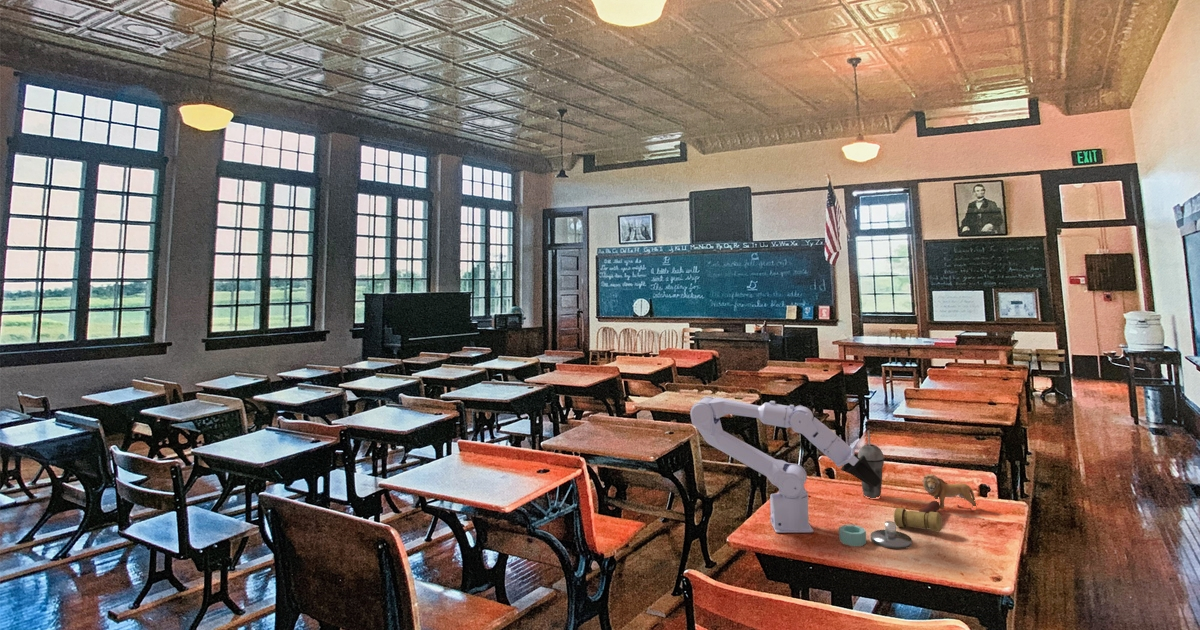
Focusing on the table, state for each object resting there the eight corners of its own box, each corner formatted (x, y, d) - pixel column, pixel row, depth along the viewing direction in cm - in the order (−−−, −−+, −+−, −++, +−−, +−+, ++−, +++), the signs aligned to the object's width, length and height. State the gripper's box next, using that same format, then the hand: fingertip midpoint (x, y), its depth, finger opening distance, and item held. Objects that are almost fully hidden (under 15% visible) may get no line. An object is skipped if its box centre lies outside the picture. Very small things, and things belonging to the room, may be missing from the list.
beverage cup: (889, 496, 176) (887, 428, 175) (880, 503, 171) (878, 433, 170) (863, 491, 181) (861, 425, 180) (854, 498, 176) (852, 430, 175)
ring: (844, 546, 144) (843, 534, 144) (837, 536, 150) (837, 524, 150) (868, 546, 144) (868, 533, 143) (860, 536, 149) (860, 524, 149)
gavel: (917, 492, 168) (957, 496, 161) (919, 509, 168) (959, 513, 161) (892, 510, 153) (936, 515, 146) (894, 528, 153) (938, 534, 146)
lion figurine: (928, 509, 162) (928, 476, 162) (918, 504, 167) (918, 471, 167) (984, 511, 161) (983, 477, 161) (972, 505, 166) (972, 472, 167)
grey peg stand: (878, 549, 142) (877, 530, 142) (865, 533, 151) (864, 516, 150) (918, 549, 141) (917, 530, 141) (902, 533, 150) (902, 515, 150)
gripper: (845, 432, 145) (893, 472, 141) (835, 432, 159) (878, 469, 155) (826, 453, 145) (873, 494, 141) (817, 452, 159) (859, 489, 155)
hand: (874, 482), depth 148 cm, fingers open, 7 cm apart
